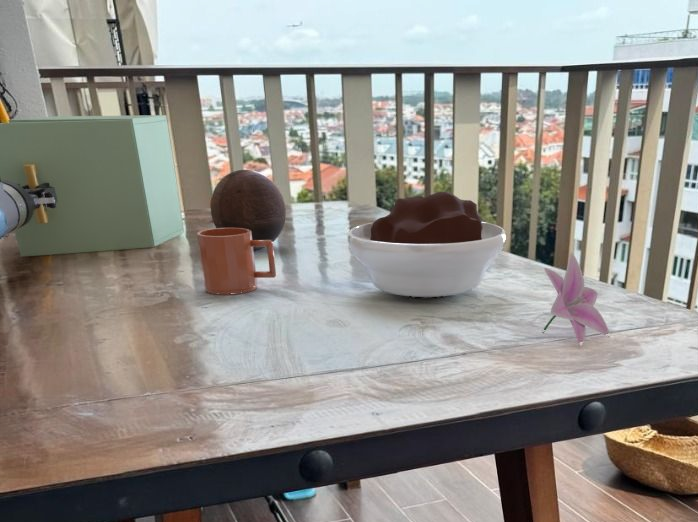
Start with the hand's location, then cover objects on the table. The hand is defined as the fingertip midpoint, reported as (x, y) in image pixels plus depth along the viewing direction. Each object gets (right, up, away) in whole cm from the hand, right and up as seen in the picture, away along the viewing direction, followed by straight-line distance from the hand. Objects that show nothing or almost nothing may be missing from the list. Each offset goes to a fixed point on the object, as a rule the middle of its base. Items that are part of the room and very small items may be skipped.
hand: (41, 190), depth 147 cm
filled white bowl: (+75, -28, -24) cm, 83 cm away
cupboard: (+6, -1, +22) cm, 23 cm away
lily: (+93, -42, -47) cm, 112 cm away
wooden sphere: (+39, -8, +10) cm, 41 cm away
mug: (+44, -26, -20) cm, 55 cm away
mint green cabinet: (+6, -10, +7) cm, 14 cm away
